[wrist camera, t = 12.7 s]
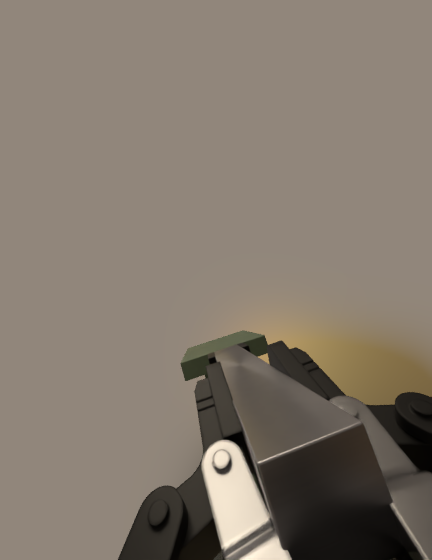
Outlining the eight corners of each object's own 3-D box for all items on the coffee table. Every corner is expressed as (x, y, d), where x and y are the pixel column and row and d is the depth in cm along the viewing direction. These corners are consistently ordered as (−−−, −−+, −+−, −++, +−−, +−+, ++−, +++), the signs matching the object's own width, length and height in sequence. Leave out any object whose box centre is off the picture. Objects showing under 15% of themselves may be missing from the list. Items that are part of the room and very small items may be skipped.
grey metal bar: (439, 538, 5) (388, 411, 5) (268, 619, 4) (227, 475, 5) (250, 366, 22) (242, 342, 23) (214, 379, 22) (207, 354, 22)
